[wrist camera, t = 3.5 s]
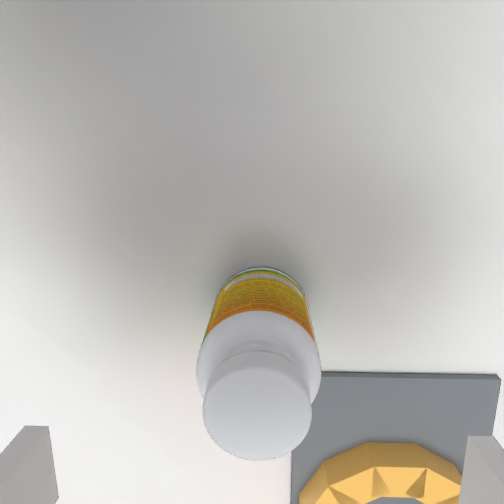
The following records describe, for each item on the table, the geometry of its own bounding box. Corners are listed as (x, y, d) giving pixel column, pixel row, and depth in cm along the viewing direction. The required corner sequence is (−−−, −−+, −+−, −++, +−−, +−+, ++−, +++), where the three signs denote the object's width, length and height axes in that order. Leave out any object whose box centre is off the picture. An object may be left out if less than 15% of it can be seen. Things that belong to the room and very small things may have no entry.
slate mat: (289, 573, 30) (289, 581, 29) (294, 371, 25) (294, 376, 25) (462, 580, 29) (465, 587, 29) (496, 375, 25) (501, 379, 24)
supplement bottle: (203, 277, 24) (161, 367, 15) (295, 255, 23) (312, 333, 14) (229, 360, 25) (206, 490, 16) (317, 340, 25) (346, 463, 15)
